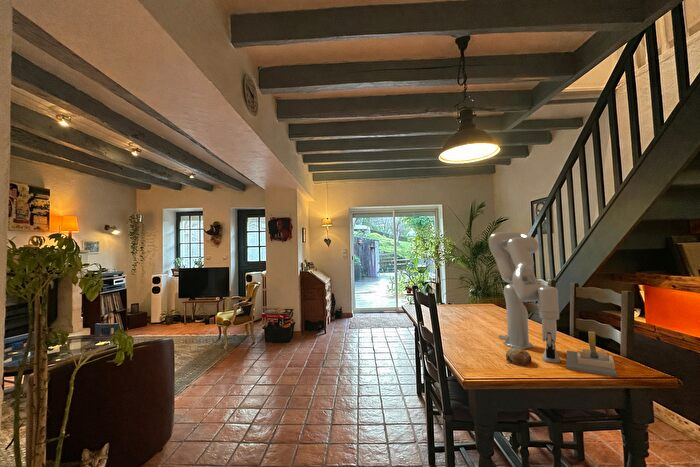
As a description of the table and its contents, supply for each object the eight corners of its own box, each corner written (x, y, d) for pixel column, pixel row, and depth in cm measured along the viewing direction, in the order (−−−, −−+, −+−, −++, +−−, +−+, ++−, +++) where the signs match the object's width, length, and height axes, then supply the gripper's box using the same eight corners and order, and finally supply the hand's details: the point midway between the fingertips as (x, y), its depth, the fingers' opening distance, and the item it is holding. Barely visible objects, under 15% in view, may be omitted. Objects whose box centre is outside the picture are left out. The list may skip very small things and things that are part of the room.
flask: (564, 364, 135) (563, 340, 136) (545, 363, 137) (544, 339, 138) (557, 358, 142) (555, 335, 143) (539, 357, 144) (538, 335, 145)
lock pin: (590, 356, 139) (589, 338, 140) (589, 348, 151) (588, 331, 152) (597, 357, 138) (596, 339, 138) (595, 349, 150) (594, 331, 150)
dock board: (566, 368, 130) (565, 359, 130) (567, 352, 150) (566, 344, 150) (617, 377, 121) (616, 366, 121) (610, 358, 141) (610, 350, 141)
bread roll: (504, 368, 142) (498, 352, 141) (518, 355, 146) (512, 339, 145) (524, 375, 133) (517, 359, 132) (538, 361, 137) (532, 345, 136)
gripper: (540, 310, 150) (542, 349, 149) (537, 317, 136) (539, 360, 135) (559, 312, 146) (561, 352, 145) (558, 319, 132) (560, 363, 131)
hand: (551, 355), depth 140 cm, fingers open, 6 cm apart
